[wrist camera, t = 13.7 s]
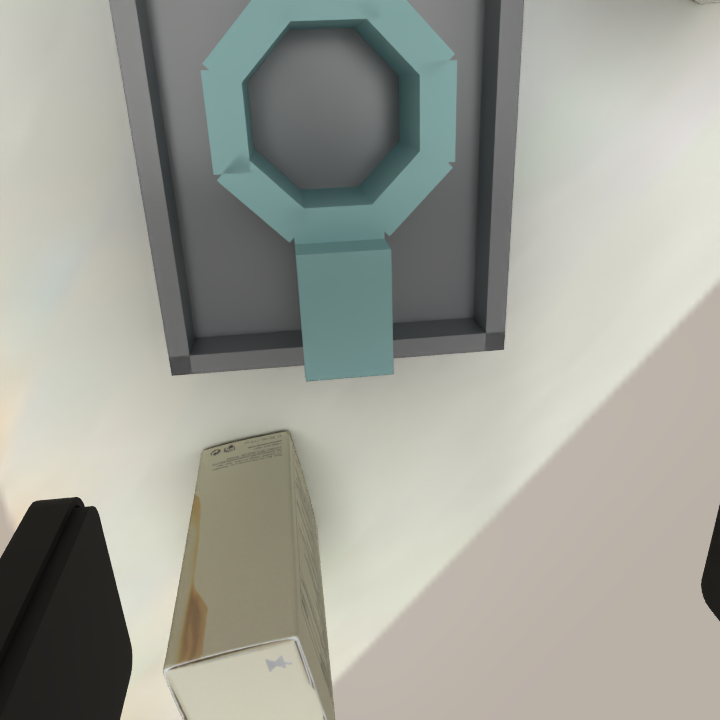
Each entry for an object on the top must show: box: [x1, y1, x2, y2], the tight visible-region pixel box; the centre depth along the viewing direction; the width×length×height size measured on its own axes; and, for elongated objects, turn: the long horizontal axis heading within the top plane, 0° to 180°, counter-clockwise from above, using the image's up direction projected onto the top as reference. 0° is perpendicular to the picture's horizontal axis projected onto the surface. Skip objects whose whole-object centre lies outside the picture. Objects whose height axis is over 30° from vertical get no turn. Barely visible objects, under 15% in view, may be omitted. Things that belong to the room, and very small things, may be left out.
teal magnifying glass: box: [201, 0, 457, 381], centre depth 23 cm, size 12×8×6 cm, turn 2°
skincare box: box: [163, 431, 335, 720], centre depth 26 cm, size 6×4×12 cm
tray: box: [109, 0, 524, 376], centre depth 24 cm, size 18×14×2 cm
